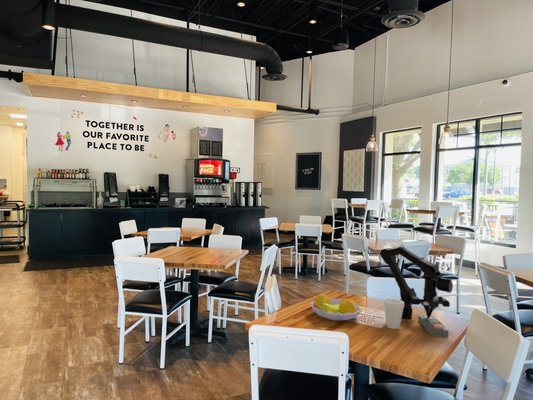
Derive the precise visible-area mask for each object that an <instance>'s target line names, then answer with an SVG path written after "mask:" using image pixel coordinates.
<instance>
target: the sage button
mask: <svg viewBox="0 0 533 400" xmlns="http://www.w3.org/2000/svg"><path fill="white" fill-rule="evenodd" d="M428 322H429V324H438V321H437V320H436V319H428Z"/></svg>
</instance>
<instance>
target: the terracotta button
mask: <svg viewBox="0 0 533 400" xmlns="http://www.w3.org/2000/svg"><path fill="white" fill-rule="evenodd" d="M432 327H433V328H434V329H442V330H443V326H442V325H441V324H432Z"/></svg>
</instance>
